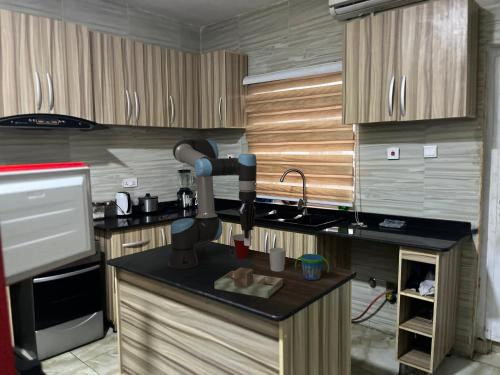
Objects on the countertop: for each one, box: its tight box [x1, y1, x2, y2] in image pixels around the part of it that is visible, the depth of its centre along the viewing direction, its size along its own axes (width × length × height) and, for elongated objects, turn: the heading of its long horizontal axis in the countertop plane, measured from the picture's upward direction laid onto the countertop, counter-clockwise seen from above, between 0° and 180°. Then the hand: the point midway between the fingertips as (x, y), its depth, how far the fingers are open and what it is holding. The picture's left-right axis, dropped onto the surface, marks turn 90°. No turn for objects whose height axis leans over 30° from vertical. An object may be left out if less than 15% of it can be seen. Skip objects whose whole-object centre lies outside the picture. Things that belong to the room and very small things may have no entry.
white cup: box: [268, 247, 286, 273], centre depth 187 cm, size 8×8×10 cm
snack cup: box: [294, 253, 330, 281], centre depth 174 cm, size 16×10×10 cm
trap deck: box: [214, 270, 284, 299], centre depth 164 cm, size 25×16×3 cm, turn 64°
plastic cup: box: [232, 233, 253, 260], centre depth 208 cm, size 11×11×12 cm
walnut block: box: [233, 267, 254, 288], centre depth 159 cm, size 6×6×6 cm
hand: (247, 245), depth 162 cm, fingers closed
